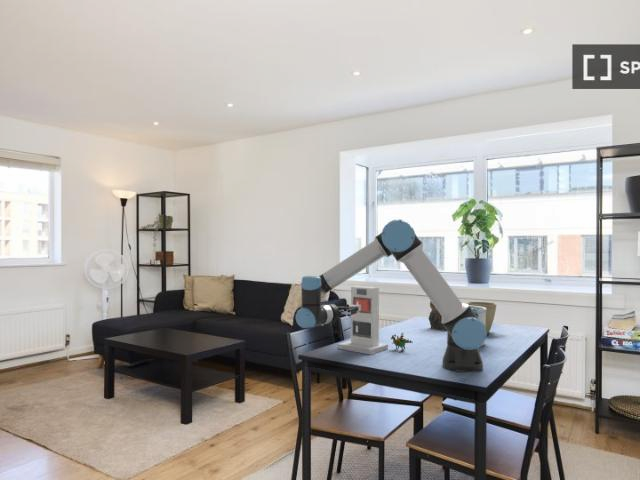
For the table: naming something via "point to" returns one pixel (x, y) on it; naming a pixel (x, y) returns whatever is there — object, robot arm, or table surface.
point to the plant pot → (487, 312)
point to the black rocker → (362, 329)
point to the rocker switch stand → (365, 322)
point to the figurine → (400, 341)
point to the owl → (435, 318)
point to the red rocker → (363, 304)
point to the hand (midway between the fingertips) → (359, 307)
